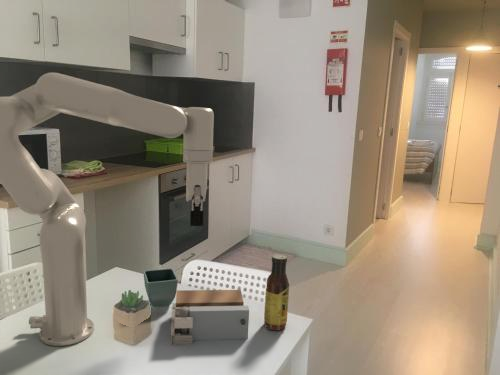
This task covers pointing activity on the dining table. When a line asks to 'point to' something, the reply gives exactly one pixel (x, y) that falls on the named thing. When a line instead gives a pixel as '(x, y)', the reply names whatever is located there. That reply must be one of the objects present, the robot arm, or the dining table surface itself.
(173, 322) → the hinge clips
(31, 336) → the dining table surface
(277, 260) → the sauce bottle
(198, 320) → the door
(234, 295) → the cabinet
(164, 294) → the flower pot
